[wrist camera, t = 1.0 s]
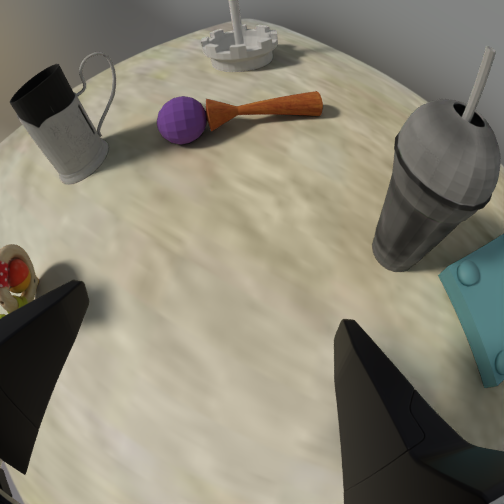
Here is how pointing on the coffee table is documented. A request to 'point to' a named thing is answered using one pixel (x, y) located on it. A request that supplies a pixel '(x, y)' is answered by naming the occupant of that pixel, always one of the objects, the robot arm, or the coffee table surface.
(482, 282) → the base brick
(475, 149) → the beverage cup
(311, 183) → the coffee table surface
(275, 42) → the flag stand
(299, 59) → the coffee table surface
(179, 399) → the coffee table surface
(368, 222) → the coffee table surface
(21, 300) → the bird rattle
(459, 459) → the robot arm
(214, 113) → the kendama
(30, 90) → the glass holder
